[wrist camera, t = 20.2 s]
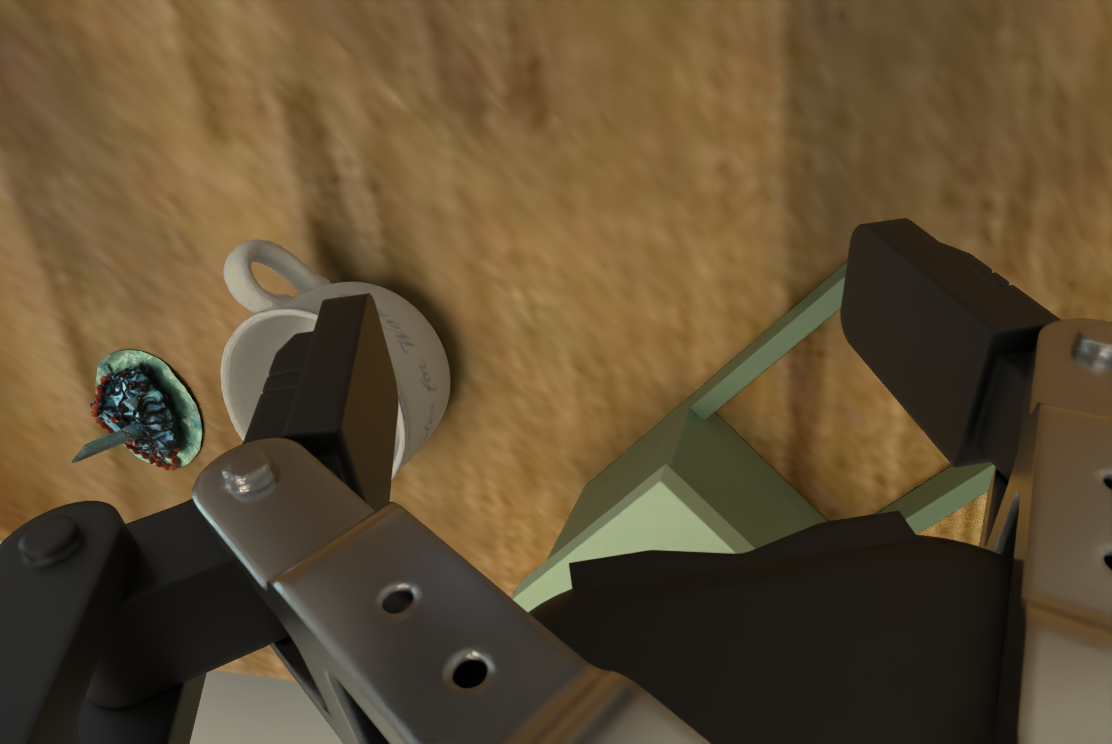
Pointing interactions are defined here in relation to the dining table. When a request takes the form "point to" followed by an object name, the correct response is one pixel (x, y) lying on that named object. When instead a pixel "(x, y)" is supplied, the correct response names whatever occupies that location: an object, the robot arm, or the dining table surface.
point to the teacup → (284, 316)
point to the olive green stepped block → (717, 476)
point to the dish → (144, 411)
